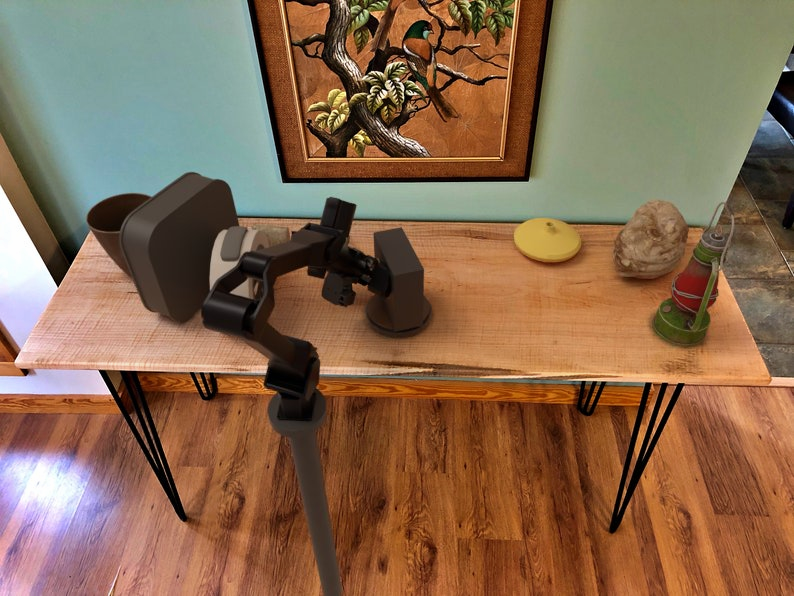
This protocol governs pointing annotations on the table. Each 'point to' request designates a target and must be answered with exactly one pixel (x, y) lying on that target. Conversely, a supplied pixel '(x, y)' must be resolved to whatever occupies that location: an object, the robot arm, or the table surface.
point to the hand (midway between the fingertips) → (374, 272)
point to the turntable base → (399, 333)
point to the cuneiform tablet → (274, 233)
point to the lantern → (694, 291)
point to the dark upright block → (399, 283)
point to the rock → (651, 241)
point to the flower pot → (113, 223)
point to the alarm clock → (237, 257)
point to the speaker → (177, 243)
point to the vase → (547, 240)
